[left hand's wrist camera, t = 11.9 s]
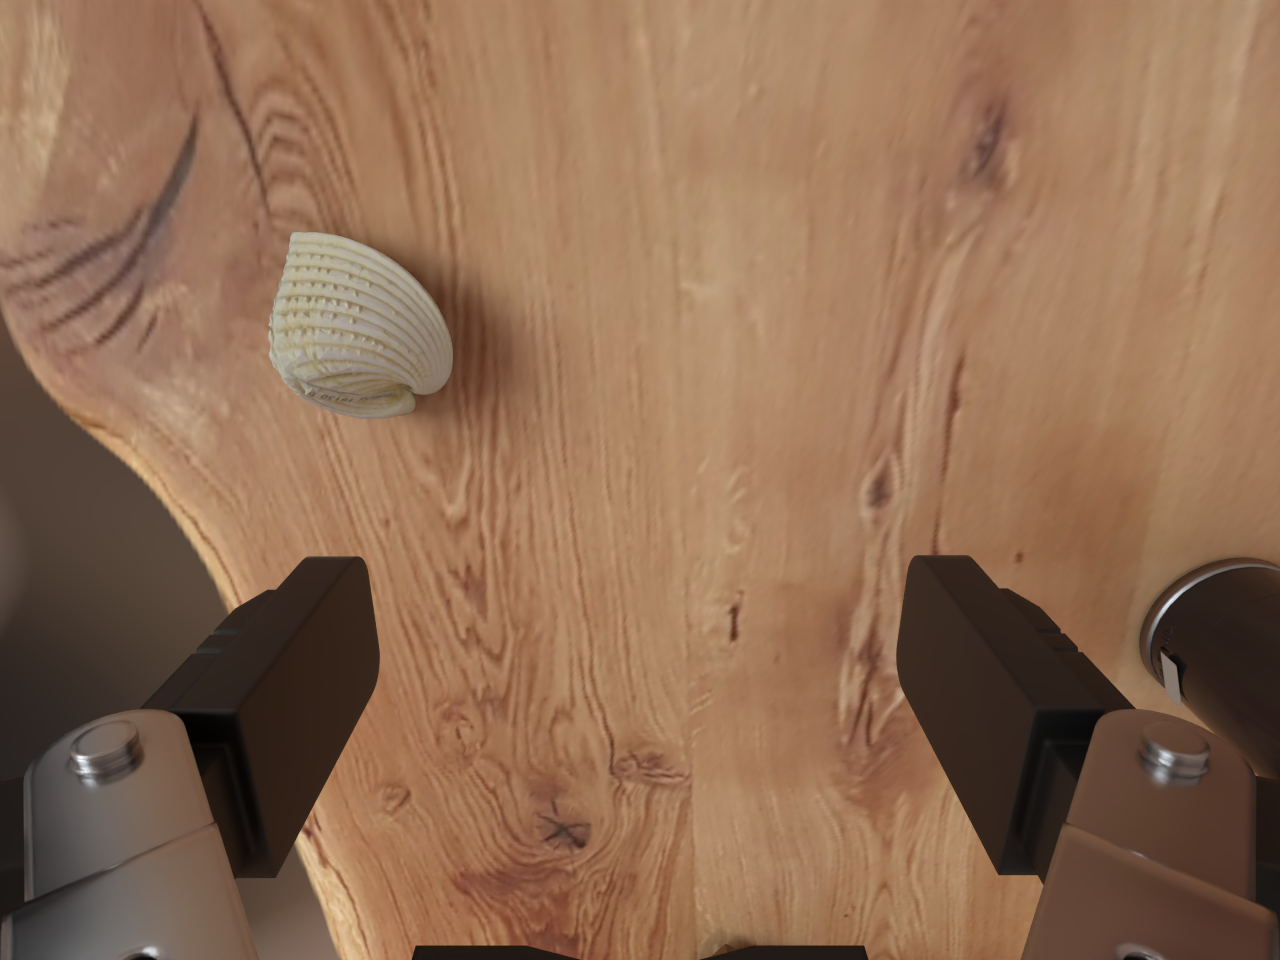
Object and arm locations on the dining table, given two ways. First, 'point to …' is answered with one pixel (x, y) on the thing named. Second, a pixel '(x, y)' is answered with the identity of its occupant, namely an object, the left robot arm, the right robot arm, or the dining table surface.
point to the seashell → (356, 329)
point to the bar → (724, 950)
